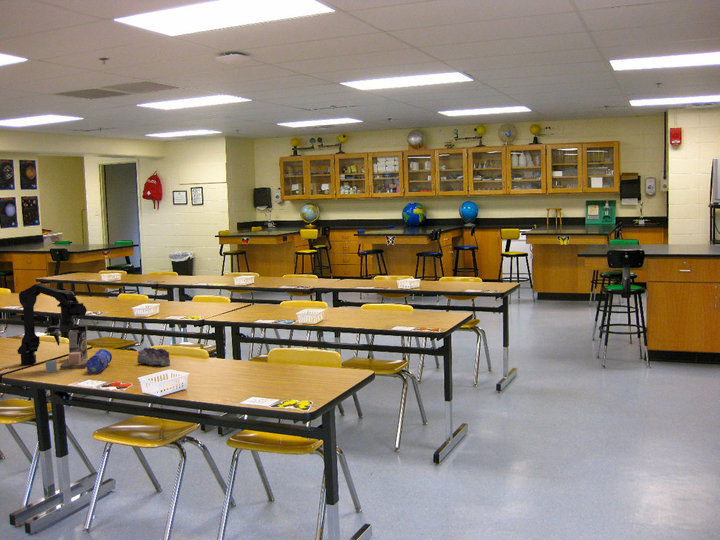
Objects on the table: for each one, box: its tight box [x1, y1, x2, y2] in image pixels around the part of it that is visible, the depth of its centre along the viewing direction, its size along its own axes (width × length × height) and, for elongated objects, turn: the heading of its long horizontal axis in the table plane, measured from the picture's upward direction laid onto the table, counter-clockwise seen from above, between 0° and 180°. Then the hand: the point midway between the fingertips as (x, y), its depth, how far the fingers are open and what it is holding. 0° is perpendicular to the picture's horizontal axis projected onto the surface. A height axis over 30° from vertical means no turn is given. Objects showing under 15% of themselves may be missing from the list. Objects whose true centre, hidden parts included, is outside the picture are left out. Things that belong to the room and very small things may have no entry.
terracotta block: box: [68, 352, 81, 364], centre depth 358 cm, size 5×5×5 cm
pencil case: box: [86, 348, 113, 375], centre depth 351 cm, size 22×9×10 cm, turn 9°
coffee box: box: [68, 330, 88, 360], centre depth 375 cm, size 9×6×16 cm
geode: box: [137, 347, 171, 368], centre depth 362 cm, size 20×12×10 cm, turn 62°
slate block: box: [45, 359, 58, 374], centre depth 348 cm, size 5×5×5 cm
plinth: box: [59, 359, 89, 370], centre depth 358 cm, size 12×12×2 cm
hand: (68, 345), depth 355 cm, fingers open, 9 cm apart
